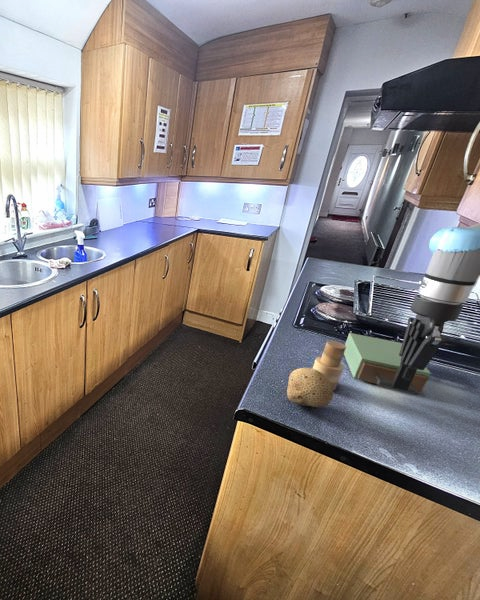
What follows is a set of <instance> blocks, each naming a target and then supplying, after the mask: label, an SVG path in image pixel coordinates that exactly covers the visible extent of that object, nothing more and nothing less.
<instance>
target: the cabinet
mask: <svg viewBox="0 0 480 600" xmlns="http://www.w3.org/2000/svg"><path fill="white" fill-rule="evenodd" d="M402 343H403V342H399V341H394V340H388V339H383V338H378V337H373V336H368V335H362V334H358V333H353V332H349V333H348V336H347V338H346V340H345V344H344V345H345V346H346V349H345V352H344V354H343V356H344V358H345V360H346V363H347V366H348V369H349V370H350V372H351V375H352V377H353V379H355V380H359V379H358V378H357V377H358V374H359V372H360V369H361V367H362V365H363V362H367V363H372V364H376V365H381V366H385V367H390V368H394V369H398V368H399V366H400V362H401V358H402V357H401V356H399V353H400V350H401V346H402ZM416 373H417V374H419V375H424V376H427V378H428V379H427V381H426V383H425V385H424V387H423V389H422V391H421V393H420V394H419V395H421V394H422V392H423V390H424V388H425V386H426V384H427V383H428V380H429V378H430V376H431V374H432V373H431V372H430V370H429V368H427V367H426V368H425V369H424V370H418V369H417V371H416Z"/></svg>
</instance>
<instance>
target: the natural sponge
mask: <svg viewBox="0 0 480 600" xmlns="http://www.w3.org/2000/svg"><path fill="white" fill-rule="evenodd" d="M286 388H287V389H286V396H287V399H288V401H290V402H291V403H294V404H295V405H298V406H300V407H312V408H322V407H325V406H328V405H329V404H330V403H331V402H332V400H333V397H334V392H333V391H332V389H331V386H330V383H329V381H328V379H327V378H326V377H325V376H324V375H323V374H322V373H321V372H319V371H318V370H315V369H313V367H300V368H296V369H294V370H292V371H291V372H290V374H289V376H288V382H287V387H286Z"/></svg>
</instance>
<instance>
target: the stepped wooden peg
mask: <svg viewBox="0 0 480 600" xmlns="http://www.w3.org/2000/svg"><path fill="white" fill-rule="evenodd" d="M345 349H346V346H345V344H344V343H342V342H340V341H336V340H327V341H326V343H325V346H324V348H323V351H322V355H321V356H317V357H315V360H314V363H313V366H312V369H315V370H318V371H319V372H321V373H322V374H323V375H324V376H325V377H326V378H327V379H328V381H329V383H330V386H331V389H332V392H333V391H335V390H336V389H337V386H338V384H339V382H340V379H341V377H342V373H343V371H344V369H345V367H344V366H345V365H344V364H343V363H342V359H343V356H344V352H345Z"/></svg>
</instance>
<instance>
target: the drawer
mask: <svg viewBox="0 0 480 600" xmlns="http://www.w3.org/2000/svg"><path fill="white" fill-rule="evenodd" d="M397 371H398V369H394V368H390V367H385V366H381V365H376V364H372V363H367V362H363V365H362V367H361V369H360V372H359V374H358V377H357V378H358V379H357V380H360V381H364V382H367V383H372V384H376V385H377V386H379V387H383V388H388V389H393V390H396V391H399V392H400V391H401V392H404V393H409V394H413V395H414V394H416V395H421V394H422V392H423V390H424V388H425V386H426V384H427V382H428V380H429V378H427V376H424V375H419V374H417V373H415V375H414V377H413V379H412V381H411V383H410V386H409V388H408V390H407V391H404V390H400V389H396V388H393V387H392V386H391V384H392V382H393V380H394V377H395V375H396V373H397ZM427 379H428V380H427ZM426 381H427V382H426ZM425 383H426V384H425ZM424 385H425V386H424ZM423 387H424V388H423ZM422 389H423V390H422ZM421 391H422V392H421ZM420 393H421V394H420Z"/></svg>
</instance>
